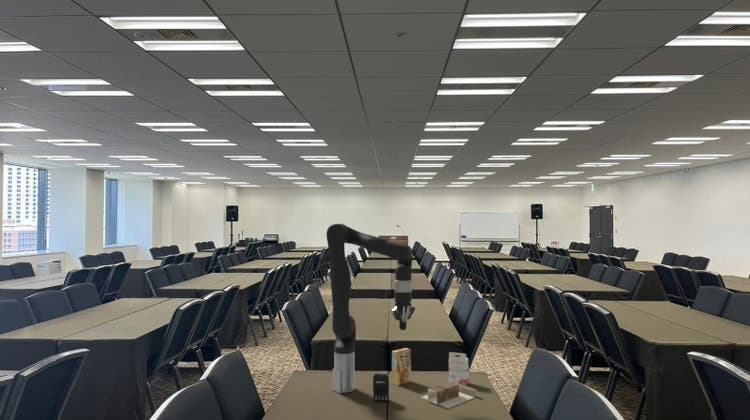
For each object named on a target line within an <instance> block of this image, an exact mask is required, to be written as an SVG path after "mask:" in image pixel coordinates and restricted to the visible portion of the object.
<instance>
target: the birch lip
mask: <svg viewBox="0 0 750 420" xmlns="http://www.w3.org/2000/svg"><path fill="white" fill-rule="evenodd" d="M448 382H453V381H449V380H448ZM453 383H455V384H458V383H456V382H453ZM458 385H459V392H461V393H463V394H466V395H469V396H472V397H474V398H473V399H476V398H478V389H475V388H472V387H469V386H468V385H467V386H464V385H461V384H458Z"/></svg>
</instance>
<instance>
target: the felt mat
mask: <svg viewBox="0 0 750 420" xmlns="http://www.w3.org/2000/svg"><path fill="white" fill-rule="evenodd" d="M421 399H423V400H426V401H428V394H425V395H423V396H421ZM473 399H475V398H474V397H472V396H469V395H466V394H463V393H461V392H459V396H458V397H456V398H453V399H450V400H447V401H445V402H442V403H439V404H437V405H438V406H440V407H443V408H446V409H450V408H452V407H455V406H458V405H461V404H462V403H465V402H468V401H470V400H473Z"/></svg>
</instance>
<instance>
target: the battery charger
mask: <svg viewBox="0 0 750 420" xmlns="http://www.w3.org/2000/svg"><path fill="white" fill-rule="evenodd" d="M372 390H373V392H372V393H373V401H374V402H378V403H379V402H383V403H385V402H389V401H390V375H389V374H388V373H386V372H376V373H374V374H373V377H372Z"/></svg>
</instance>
